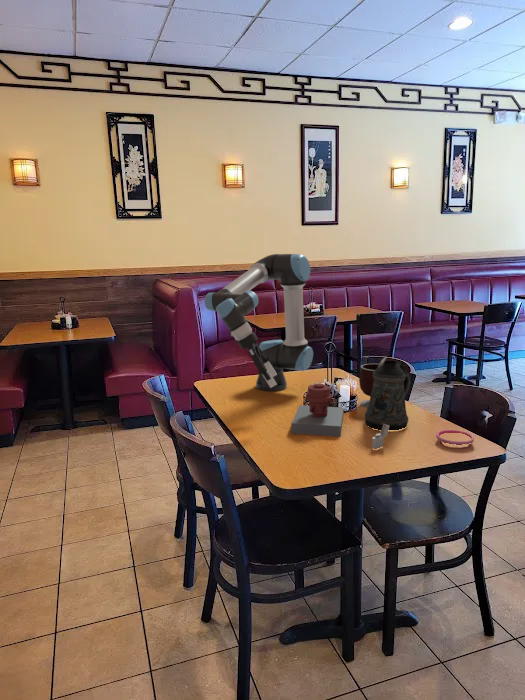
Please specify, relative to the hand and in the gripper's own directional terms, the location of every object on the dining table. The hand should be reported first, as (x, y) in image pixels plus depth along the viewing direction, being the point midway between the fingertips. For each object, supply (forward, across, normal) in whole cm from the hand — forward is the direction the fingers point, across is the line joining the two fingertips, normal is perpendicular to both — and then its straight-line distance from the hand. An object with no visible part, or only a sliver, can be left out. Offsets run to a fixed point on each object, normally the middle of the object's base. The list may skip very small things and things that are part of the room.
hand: (274, 381), depth 202 cm
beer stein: (+37, +3, +28) cm, 47 cm away
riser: (+23, +5, +6) cm, 24 cm away
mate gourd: (+38, -21, +28) cm, 52 cm away
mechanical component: (+20, +5, +8) cm, 22 cm away
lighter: (+33, +28, +23) cm, 49 cm away
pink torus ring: (+47, +23, +45) cm, 70 cm away
